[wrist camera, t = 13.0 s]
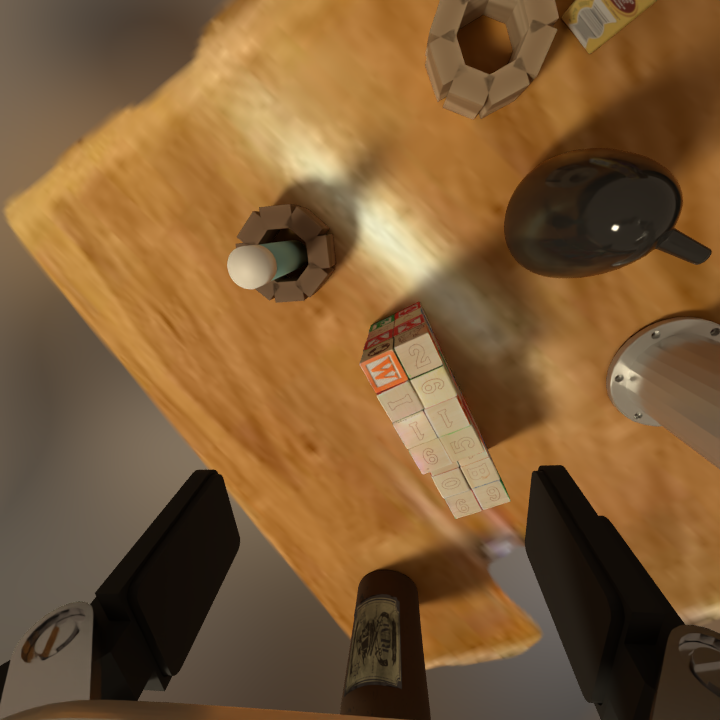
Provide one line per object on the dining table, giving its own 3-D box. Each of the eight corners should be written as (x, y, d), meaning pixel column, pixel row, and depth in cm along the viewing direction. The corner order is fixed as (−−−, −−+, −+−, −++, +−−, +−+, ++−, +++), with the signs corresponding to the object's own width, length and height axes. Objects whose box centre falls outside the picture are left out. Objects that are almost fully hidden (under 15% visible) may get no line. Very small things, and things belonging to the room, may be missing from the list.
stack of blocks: (489, 449, 44) (521, 526, 33) (443, 465, 46) (458, 544, 35) (419, 300, 38) (428, 331, 27) (368, 324, 40) (358, 364, 29)
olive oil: (431, 606, 56) (456, 878, 32) (370, 618, 58) (353, 879, 35) (406, 559, 53) (415, 825, 29) (343, 574, 55) (305, 829, 32)
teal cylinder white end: (306, 238, 37) (264, 244, 25) (310, 268, 38) (271, 287, 26) (278, 240, 37) (223, 248, 25) (283, 270, 39) (232, 290, 26)
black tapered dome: (555, 290, 37) (655, 332, 23) (472, 239, 36) (523, 249, 21) (629, 197, 33) (804, 176, 19) (539, 136, 32) (653, 67, 18)
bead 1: (329, 203, 36) (321, 200, 32) (339, 291, 39) (333, 298, 35) (245, 212, 37) (228, 210, 33) (261, 297, 40) (247, 304, 36)
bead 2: (517, -41, 28) (536, -81, 24) (548, 82, 30) (569, 62, 27) (412, 27, 30) (414, -1, 26) (449, 136, 33) (456, 124, 29)
